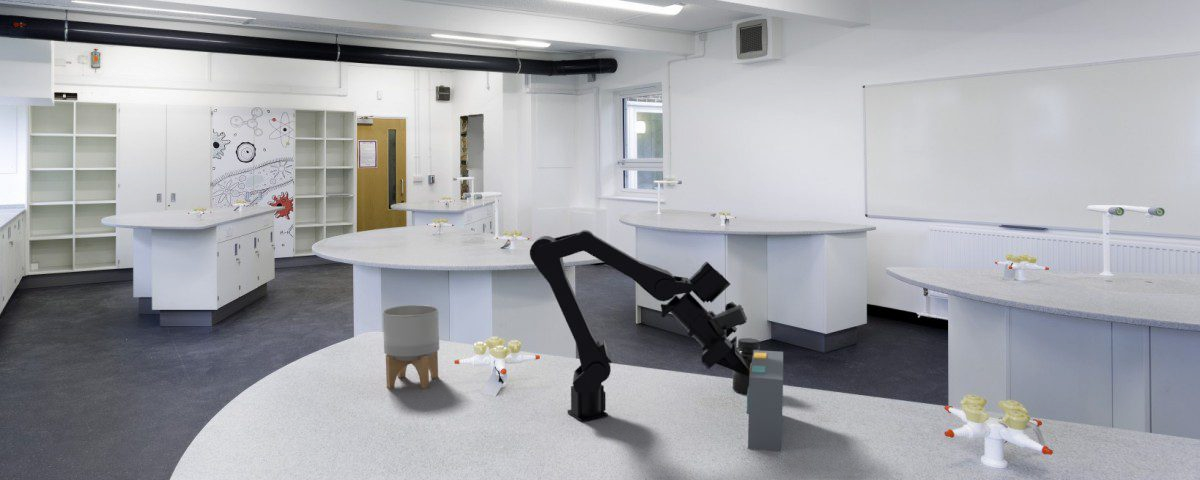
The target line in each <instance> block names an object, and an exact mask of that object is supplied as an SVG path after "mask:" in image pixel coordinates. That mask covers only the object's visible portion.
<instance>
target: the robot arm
mask: <svg viewBox="0 0 1200 480" xmlns="http://www.w3.org/2000/svg"><path fill="white" fill-rule="evenodd" d="M580 252H585V253H587V254H589V255H590V256H592V257H594V258H596V259H598V260H599V261H601V262H602V263H604V264H607V265H608V266H609V267H611V268H613V269H615V270H616V271H619V272H620V273H622V274H624V275H625V276H627V277H629V278H630V279H632V280H633V281H634V282H636V283H637V284H638V285H639V286H640V287H641V288H642V289H643V290H644V291H645V292H646V293H648V294H649V295H650V296H651V297H652V298H654V299H655V300H656V301H659V302H667V301H668V302H667V303H661V304H660V309H661V313H660V315H661V318H665V317H666V316H668V314H669V313H670V314H671V315H672V316H673V317H674V318H675V319H676V320H677V321H678V322H679V323H680V324H681V325H682V327H684V328H685V330H686V331H687V335H688V337H690V338H692V337H693V338H694V339H695V340H696V341H697V342H698V343H699V344H700V345H701V348H700V349H702V351H703V352H702V353H701V354H702V355H701V363H702V364H703V366H705V368H706V369H707V370H710V369H711V368H712V367H714V365H719V366H722V367H724V368H727V369H729V370H731V371H732V372H733V371H736V372H738V373H741V374H743V375H745V376H748V375H749V374H750V370H749V368H748V366H747V365H746V363H745V361H744V360H743V358H742V356H741V355H740V353H739V351H738V350H739V349H738V337H737V336H735V337H733V338H732V339H730V338H729V336H730V335H732V334H734V333H736V332H737V330H738V328H737V327H736V326H742V325H744V324H746V323H747V320H748V318H747V316H746V314H745V311H744V307H742V305H741V304H738V305H737V304H735V303H734V302H733V301H731V302H728V303H726V304H725V306H724V307H725V308H724V310H722V311H721V312H719V313H717V314H716V313H715V312H713V310H707V309H706V308H705V307H704V306H703V305H702V304H701V303H700V302H699V301H698V300H697V299H696V298H695V297H694V295H696V297H697V298H698V299H699V300H700V301H701V302H703V304H704V303H707V304H708V303H709V302H710V303H711V304H712V303H713V302H715V300H716V299H717V298H718V297H719V296H721V294H723V292H724V291H725V290H727V288H728V287H730V286H731V283H730V282H729V280H727V279H726V278H725V277H724V275H723V274H722V273H721V272H720V271H718V270H716V269H715V268H714V267H713V266H712V264H710V262H708V261H705V262H704V263H703V264H701V266H700V268H699V269H698V270H696V272H695V273H694V274H693V275H692V276H691V277H690V278H689V277H684V276H683V277H682V276H677V275H673V274H672V273H671V272H670V271H669V270H667V269H663V268H661V267H658V266H656V265H652V264H649V263H645V262H643V261H640V260H638V259H637V258H635V257H633V256H631V255H630V254H628V253H626V252H624V251H623V250H620V249H619V248H618V247H616V246H614V245H613V244H610V243H608V242H607V241H605V240H603V239H602V238H600V237H599V236H597V235H595V234H593V232H592V231H590V230H587V229H582V230H581V231H579V232H574V233H571V234H567V235H566V234H565V235H562V236H558V237H552V236H550V235H543V236H540V237H538V238H537V239H535V241H534V242H533V243H532V245H531V246H530V249H529V257H530V260H531V262H532V263H533V264H534V266H535V267H536V269H537V270H538V271H539V273H540V274H541V275H542V276H543V278H544V279H545V280H546V282H547V283H548V284H549V286H550V288H551V291H552V293H553V295H554V298H555V299H556V301H557V304H558V306H559V308H560V310H561V313H562V315H563V318H564V319H565V321H566V324H567V326H568V328H569V330H570V333H571V335H572V337H573V340H574V342H575V344H576V347H577V352H578V358H579V362H580V365H579V366H578V367H577V368H576V369H575V370H574V371H573V378H572V385H571V386H570V409H568V410H567V411H566V413H567V414H569V415H570V416H571V417H573V418H575V419H577V420H579V421H580V422H586V421H592V420H595V419H596V420H597V419H600V418H606V417H608V415H609V414H608V413H607V412H606V409H607V408H606V405H607V404H606V401H607V400H606V399H607V398H606V395H607V394H606V391H605V387H604V384H602V383H604V382H605V381H606V380H608V378H609V377H610V375H611V370H612V368H611V364H612V363H613V358H612V352H611V351H609V349H608V348H607V345H606V341H605V338H604V337H602V338H600V339H598V338H596V336H595V335H594V333H593V331H592V330H591V327H590V325H589V323H588V320H587V318H586V316H585V314H584V311H583V310H582V307H581V305H580V303H579V301H578V298H577V296H576V294H575V291H574V289H573V287H572V285H571V283H570V280H569V277H568V276H567V272H566V267H565V264H564V259H563V258H566V257H568V256H572V255H574V254H577V253H580ZM692 292H693V294H694V295H692V294H691V293H692ZM678 295H682V296H678Z"/></svg>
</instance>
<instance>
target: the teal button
mask: <svg viewBox="0 0 1200 480" xmlns="http://www.w3.org/2000/svg"><path fill="white" fill-rule="evenodd" d="M746 415H749V387H748V391H747V394H746Z"/></svg>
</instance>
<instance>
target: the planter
mask: <svg viewBox="0 0 1200 480" xmlns="http://www.w3.org/2000/svg"><path fill="white" fill-rule="evenodd" d="M439 315H440V314H439V308H438V307H436V306H434V305H425V304H409V305H408V304H407V305H401V306H400V305H399V306H395V307H394V306H393V307H389V308H386V309H384V310H383V311H382V327H383V328H382V329H383V330H382V331H383V353H384V354H385V370H386V371H385V374H386V377H385V378H386V388H387V389H392V388H395V385H396V379H397V378H399V377H400V378H399V379H402V378H401V377H403V378H406V377H405V376H406V374H407V373H406V372H407V367H408V365H412V366H413V367H414V368H415V370H416V372H417V375H418V377H419V382H420V388H421V389H428V388H430V380H429V379H430V378H431V379H436V378H439V359H438V358H439V357H438V354H439V353H438V351H439V350H440V322H439V321H440V319H439ZM429 373H430V374H429Z"/></svg>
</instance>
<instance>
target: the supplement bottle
mask: <svg viewBox="0 0 1200 480" xmlns="http://www.w3.org/2000/svg"><path fill="white" fill-rule="evenodd" d="M737 350H738V351H739V353H740V355H741V356H742V358H743V360H744V361H745V363H746V365H747V366H748V368H749V370H750V364H751V363H752V357H753V351H754V350H760V340H758V339H755V338H751V337H744V338H738V339H737ZM749 376H750V374H749V375H748V376H745V375H743V374H741V373H738V372H736V371H733V370H732V390H733V391H734V392H735V393H738V394H742V395H747V391H748V387H749Z"/></svg>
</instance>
